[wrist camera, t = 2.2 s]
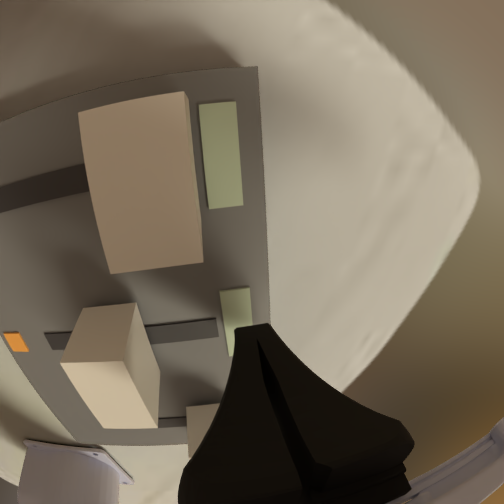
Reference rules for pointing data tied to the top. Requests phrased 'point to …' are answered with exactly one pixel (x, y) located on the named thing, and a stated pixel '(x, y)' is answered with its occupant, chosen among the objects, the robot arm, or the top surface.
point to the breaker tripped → (114, 367)
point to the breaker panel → (144, 281)
